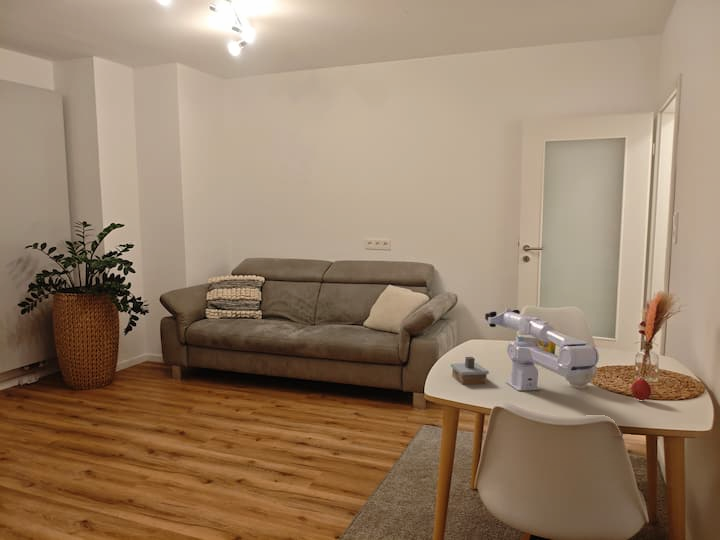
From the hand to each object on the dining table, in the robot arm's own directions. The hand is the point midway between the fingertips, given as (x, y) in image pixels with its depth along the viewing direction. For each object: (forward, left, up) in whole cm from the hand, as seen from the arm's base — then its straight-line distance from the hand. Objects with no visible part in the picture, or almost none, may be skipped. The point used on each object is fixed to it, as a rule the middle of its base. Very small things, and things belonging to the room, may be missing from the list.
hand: (495, 315), depth 209 cm
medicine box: (+14, -22, -21) cm, 33 cm away
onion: (-39, -34, -21) cm, 55 cm away
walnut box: (-12, +14, -21) cm, 28 cm away
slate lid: (-12, +14, -17) cm, 25 cm away
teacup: (-24, -22, -21) cm, 38 cm away
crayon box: (+6, -26, -21) cm, 34 cm away
